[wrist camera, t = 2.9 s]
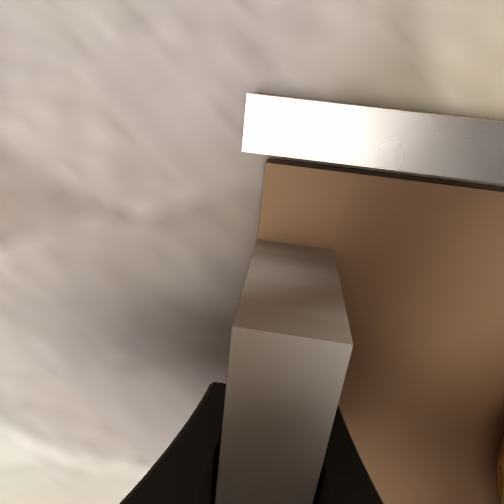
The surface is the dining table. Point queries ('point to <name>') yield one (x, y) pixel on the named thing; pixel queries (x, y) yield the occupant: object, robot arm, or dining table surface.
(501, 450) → the decorated donut
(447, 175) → the rails
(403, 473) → the brown square board
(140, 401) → the dining table surface
